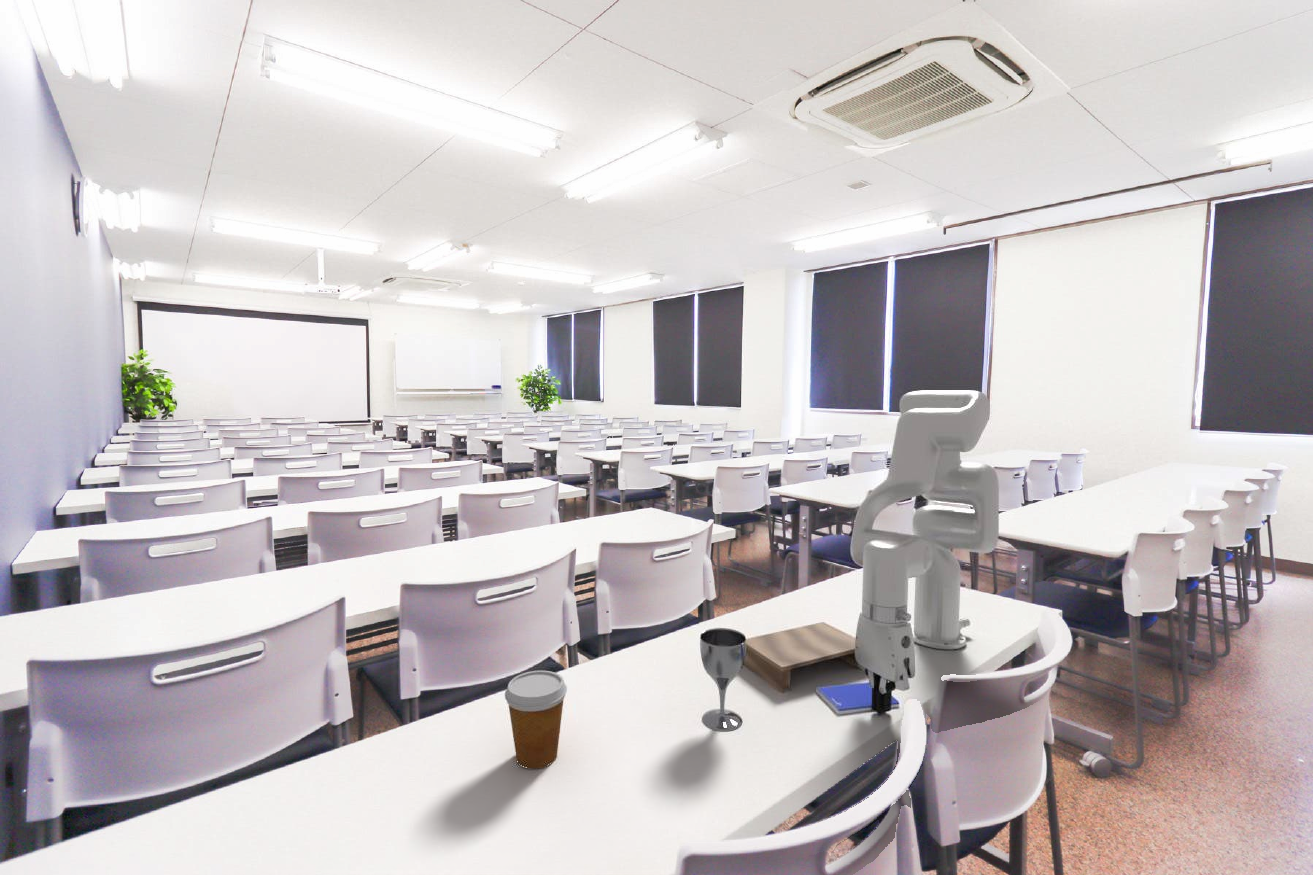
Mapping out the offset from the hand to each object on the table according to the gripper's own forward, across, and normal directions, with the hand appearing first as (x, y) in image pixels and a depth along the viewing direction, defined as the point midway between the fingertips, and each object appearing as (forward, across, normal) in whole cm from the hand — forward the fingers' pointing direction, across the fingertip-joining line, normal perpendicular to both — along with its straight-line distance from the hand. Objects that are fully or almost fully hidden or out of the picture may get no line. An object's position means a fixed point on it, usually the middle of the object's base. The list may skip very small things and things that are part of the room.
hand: (881, 710), depth 105 cm
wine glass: (+1, +11, +27) cm, 29 cm away
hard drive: (+1, +6, 0) cm, 6 cm away
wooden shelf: (0, +21, 0) cm, 21 cm away
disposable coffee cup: (+1, +15, +59) cm, 61 cm away
